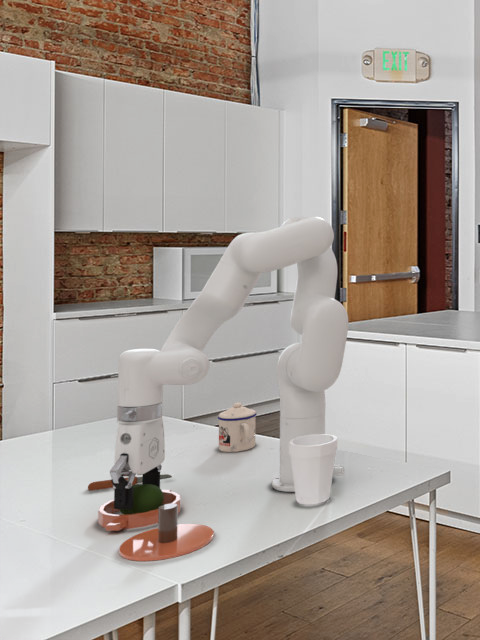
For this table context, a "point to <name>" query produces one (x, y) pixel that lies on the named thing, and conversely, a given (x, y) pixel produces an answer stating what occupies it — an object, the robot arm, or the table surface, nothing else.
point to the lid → (166, 538)
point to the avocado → (145, 499)
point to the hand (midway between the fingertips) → (137, 499)
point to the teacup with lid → (236, 429)
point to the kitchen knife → (109, 484)
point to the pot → (133, 520)
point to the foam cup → (313, 467)
